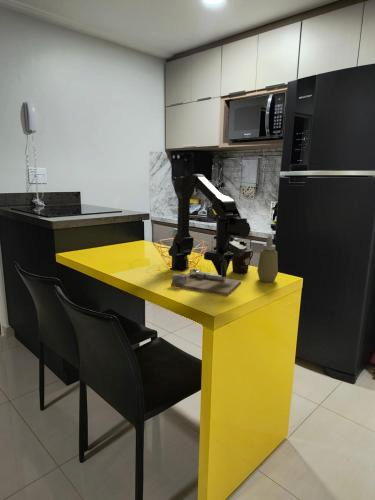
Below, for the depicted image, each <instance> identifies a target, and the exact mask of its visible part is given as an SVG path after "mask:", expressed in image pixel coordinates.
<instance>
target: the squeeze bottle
mask: <svg viewBox="0 0 375 500" xmlns="http://www.w3.org/2000/svg"><path fill="white" fill-rule="evenodd" d="M259 253H260V254H259V259H258V264H257V270H256V271H257V275H258V279H259V281H260V282H264V283H274V282H275V281H276V278H277V276H278V273H279V269H278V268H279V267H278V265H279V263H278V262H279V261H278V260H279V259H278V251H277V250H276V245H275V244H274V243H273V237H272V235H268V237H267V240H266V243H265V244H263V246H262V249H261V250H260V252H259Z"/></svg>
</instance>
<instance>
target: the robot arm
mask: <svg viewBox="0 0 375 500" xmlns="http://www.w3.org/2000/svg"><path fill="white" fill-rule="evenodd" d="M173 186H174V187H173V188H174V193H175V195H176V197H177V228H176V229H177V231H176V234H175V236H174V237H173V240H172V245H171V246H170V248H169V249H168V250H167V252H168V256H169V257H171V267H170V268H169V270H171V271H178V272H185V271H187V270H188V269H190V267H189V261H190V259H189V258H188V256H191V254H192V251H193V247H194V246H195V245H194V240H195V239H194V236H191V234H190V214H191V213H190V212H191V210H190V208H191V198H192V196H193V195H194V193H195V188H197V190H199V192H201V193H202V195H203V196H205V198H206V199H207V200H208V201H209V202H210V204H211V209H212V210H213V212H214V213H215V214H216V215H215V216H213V217H212V221H216V222H215V223H216V230H215V231H216V232H215V235H214V236H213V240H215V246H214V247H213V249H210V250H207V251H205V252H204V253H203V260H206V261H211V262H212V264H213V267H214V268H215V271H216V274H218V275H220V276H221V274H222V269H223V263H224V262H225V261H226V260H227V270H229V266H230V263H231V262H232V258H233V257H234V256H238V257H240V256H241V255H243V254H244V252H245V250H247V248H248V245H247V241H246V240H241V241H236V240H235V237H238V238H241V239H246V238H247V237H249V235H250V233H251V225H250V223H249V222H248V218H247V217H242V216H241V213H240V211H239V209H238V208H237V207H238V206H237V204H236V201H235V200H234V199H233V198H231V197H230V196H227V195H224V194H223V193H221V192H220V191H219V190H218V189H217V188H216V187H215V186H214V185H213V184H212V183H211V182H210V181H209V180H208V179H207V178H206V176H205V175H204V174H202V173H201V174H200V173H194V174H190V175H187V176H177V177H176V178H175V179H174V182H173ZM224 258H227V259H224Z"/></svg>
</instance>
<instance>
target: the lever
mask: <svg viewBox="0 0 375 500" xmlns="http://www.w3.org/2000/svg"><path fill="white" fill-rule="evenodd" d="M224 259H227V258H224ZM227 272H228V269H227V260H226V261H225V262H224V263H223V269H222V274H221V276H220V275H218V273H211V272H206V271H201V270H200V269H197V268H193V269H190V270H189V273H190V276H192V277H197V278H200V279H204V278H210V279H216V280H223V281H224V280H225V279H226V278H227V274H228V273H227Z"/></svg>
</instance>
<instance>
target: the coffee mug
mask: <svg viewBox="0 0 375 500" xmlns="http://www.w3.org/2000/svg"><path fill="white" fill-rule="evenodd" d="M253 255H254V251H253V250H252V249H251V248H249V247H247V250H245V252H244V254H243V255H241V256H240V257H238V256H234V257H233V258H232V259H231V265H232V266H231V267H232V273H234V274H237V275H246V274H248V272H249V266H250V261H251V260H252V258H253Z"/></svg>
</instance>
